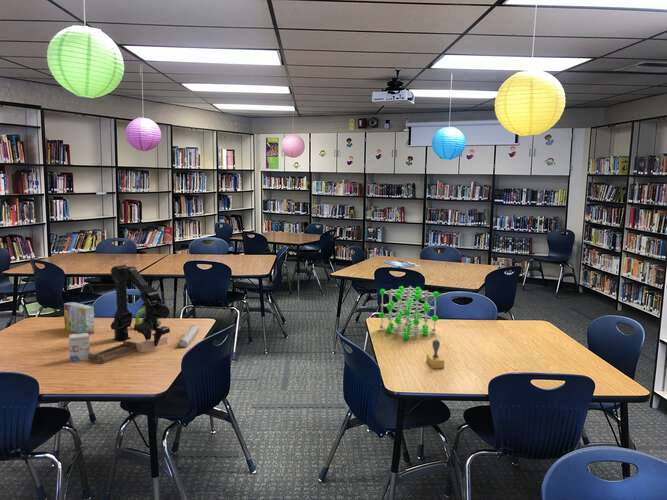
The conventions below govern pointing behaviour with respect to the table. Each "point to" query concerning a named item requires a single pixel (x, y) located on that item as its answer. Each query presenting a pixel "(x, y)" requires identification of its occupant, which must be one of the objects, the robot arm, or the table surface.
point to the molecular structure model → (408, 311)
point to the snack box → (79, 318)
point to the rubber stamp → (435, 356)
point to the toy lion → (139, 315)
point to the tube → (189, 336)
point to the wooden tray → (113, 352)
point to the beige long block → (151, 344)
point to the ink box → (79, 346)
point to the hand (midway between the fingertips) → (152, 345)
